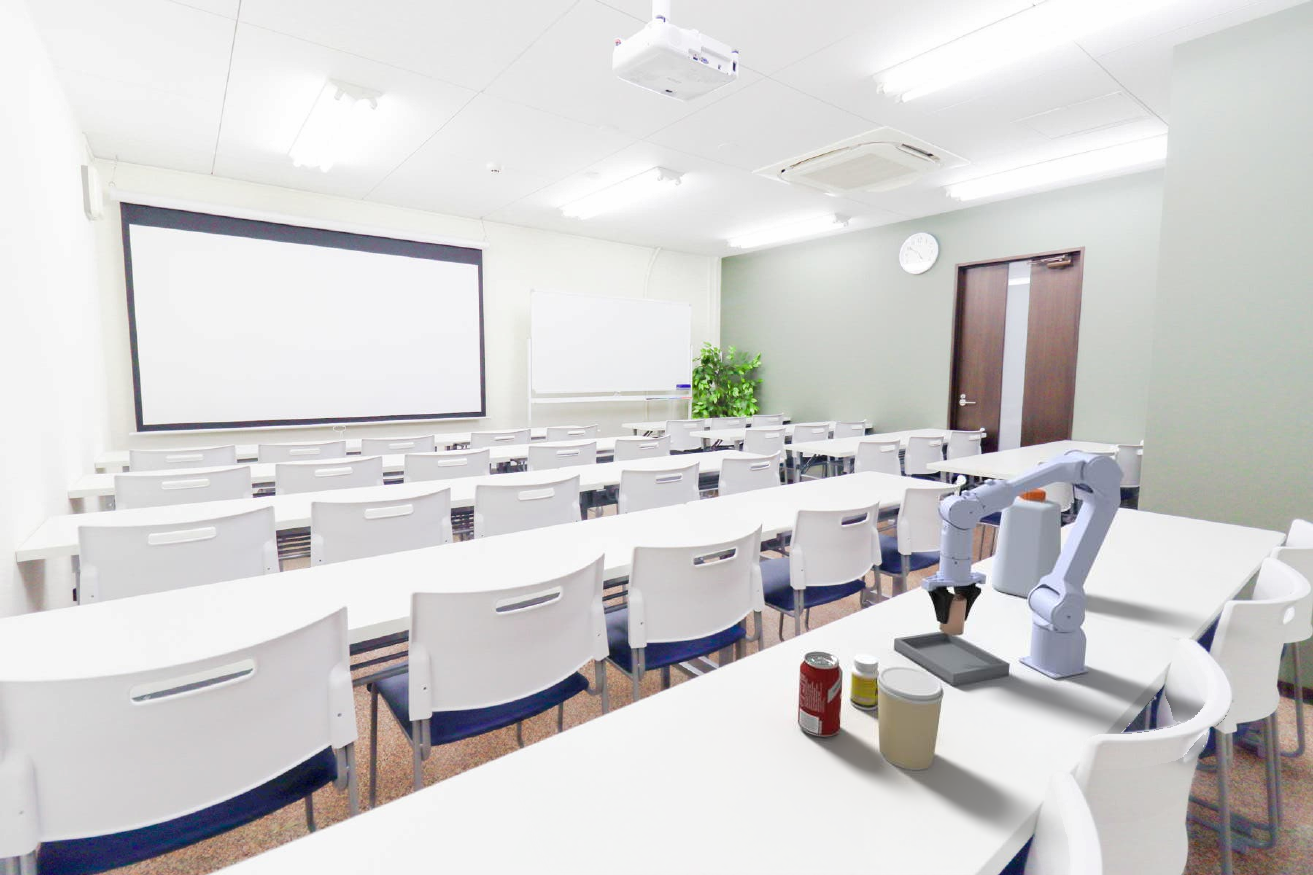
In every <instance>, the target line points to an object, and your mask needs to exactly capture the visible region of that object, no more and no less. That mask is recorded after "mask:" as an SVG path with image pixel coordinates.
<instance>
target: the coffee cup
mask: <svg viewBox="0 0 1313 875" xmlns="http://www.w3.org/2000/svg"><path fill="white" fill-rule="evenodd" d="M877 684H878V706H877V708H878V709H877V711H878V713H877V714H878V715H877V716H878V746H879V747H878V748H879V751H880V752H879V753H880V755H881V756H882V757H883V758H884V759H885V760H886V761H887V762H889V763H890V764H892V765H894V766H896V767H899V768H901V769H904V770H910V771H923V770H926V769H928V768H930V767H931V766H932V765H933V762H934V757H935V752H936V744H937V737H938V730H939V724H940V717H941V716H940V715H941V711H942V710H941V709H942V702H943V697H944V694H945V692H944V689H943V687H942V683H941V682H940V681H939V680H938V679H937V678H936V677H935V676H934V675H931V674H929V673H927V672H925V671H922V670H919V669H916V668H911V667H905V666H893V667H891V666H890V667H888V668H884V669H883V670H881V671H880V672H879V676H878V678H877Z"/></svg>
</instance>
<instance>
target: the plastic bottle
mask: <svg viewBox="0 0 1313 875" xmlns="http://www.w3.org/2000/svg"><path fill="white" fill-rule="evenodd" d="M1046 497H1047V492H1046V491H1045V490H1043V489H1040V488H1038V489H1035V490H1033V491H1030V492H1027V493H1025V494H1022V495H1019V496H1016V498H1015V500H1014V503H1013V505H1011V506H1009V507H1007V508H1004V509H1002V510H1001V517H1000V521H999V530H998V534H997V541H996V549H995V555H994V561H993V566H992V567H993V568H992V574H991V580H990V583H991V586H992V587H993V588H994V589H995V590H996V591H999V592H1001V593H1004V594H1010V595H1013V596H1017V597H1023V598H1026V599H1028V595H1029V593H1030V591H1031V590H1032V589H1033V588H1035V587H1036V586H1037V585H1038V584H1039V582H1040V580H1041V578H1042V577H1044V576H1046V575H1049V574H1051V573H1052V571H1053V569H1054V567H1055V565H1056V562H1057V560H1058V558H1059V556H1060V553H1061V551H1062V548H1061V546H1062V536H1061V534H1062V519H1061V518H1062V513H1061V512H1062V507H1061V506H1062V505H1061V504H1060V503H1059V502H1058V501H1056V500H1052V499H1046Z"/></svg>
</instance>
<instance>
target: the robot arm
mask: <svg viewBox="0 0 1313 875" xmlns="http://www.w3.org/2000/svg"><path fill="white" fill-rule="evenodd" d="M1124 475H1125V472H1123V470H1122V468H1121V467H1120V465H1119V464H1118V462H1117V461H1116V460H1115V459H1114V458H1112V457H1111V456H1108V455H1103V454H1100V455H1099V454H1096V453H1091V452H1086V451H1083V450H1081V449H1080V450H1079V449H1071V450H1067V451H1066V452H1063V454H1062V453H1061V454H1057V455H1054V456H1053V457H1052V458H1050V459H1048V460H1047V461H1045V462H1043V463H1040V464H1039V465H1037V466H1034V467H1033V468H1031V469H1029V470H1027V471H1025V472H1023V473H1020V474H1018V475H1016V476H1015V477H1012V478H1011V479H1009V480H1007V481H1004V480H1002V479H999V478H996V479H995V478H994V479H991V478H988V479H986V480H984V482H983V483H984V484H981V485H979V486H977V487H975V488H971V489H970V490H967V489H965V490H962V491H961V495H958V494H957V495H955V494H951V495H949V496H946V497H945V498H944V499H943V500H942V502H940V505H939V506H938V507H937V512H938V515H939V517H940V518H941V520H942V524H941V525H942V526H941V534H940V553H939V568H938V570H937V571H936V573H935V574H934V575H930V576H929V577H926V578H925V577H924V578H922V579H921V589H923V590H925V591H927V593H928V595H929V597H930V599H931V601H932V605H933V608H934V613H935V616H936V618H935V619H936V622H939V623H940V622H941V623H943V624H947V622H948V618H949V610H950V605H951V602H952V600H953V598H954V596H955V595H954V594H957V595H961V596H963V597H965V598H966V599H967V602H966V612H965V621H964V622H966V621H967V620H968V618H969V615H970V612H971V610H972V607H973V605H974V603H975V602H976V600H977V599H978V597H979V596H980V595H981V594H982V588H981V587H979V586H977V584H979V585H985V584H987V583H986V581H987V580H986V579H987V575H986V574H984V573H982V572H978V571H977V572H976V571H975V572H972V561H973V558H972V557H973V545H974V530H975V529H974V528H975V527H976V526H977V525H978V524H979V523H980V521H981V519H982V518H985V517H987V516H989V515H992V514H994V513H997V512H999V511H1002V509H1004V508H1007V507H1009V506H1011V505H1013V503H1014V500H1015V498H1016V496H1020V495H1022V494H1025V493H1027V492H1030V491H1033V490H1035V489H1041V488H1043V487H1046V486H1049V485H1051V484H1054V483H1058V482H1059V483H1067V484H1070V485H1072V486H1073V487H1074V488H1075V490H1076V492H1077V493H1078V495H1079V496H1080V498H1081V500H1082V504H1081V506H1080V509H1079V511H1078V514H1077V516H1076V518H1075V520H1074V523H1073V525H1072V528H1071V529H1070V531H1069V533H1068V536H1067V538H1066V540H1065V543H1064V545H1063V547H1062V548H1061V553H1060V556H1059V558H1058V560H1057V562H1056V565H1055V567H1054V569H1053V571H1052V573H1051V574H1049V575H1046V576H1044V577H1042V578H1041V580H1040V582H1039V584H1038V585H1037V586H1036V587H1035V588H1033V589H1032V590H1031V591H1030V593H1029V595H1028V598H1026V600H1027V605H1028V607H1029V609H1030V610H1031V611H1032V624H1031V626H1032V627H1031V638H1030V649H1029V656H1025V657H1023V656H1022V657H1019V658H1018V661H1019V662H1020V663H1022V664H1025V665H1026V666H1028V667H1030V668H1032V669H1034V670H1036V671H1038V672H1041V673H1043V674H1044V675H1046V676H1048V677H1049V678H1052V679H1059V678H1064V677H1069V676H1074V675H1080V674H1084V673H1088V672H1089V669H1088V668H1086V667H1085V661H1086V652H1087V651H1086V650H1087V636H1086V634H1085V632H1084V630H1083V629H1082V626H1083V624H1084V622H1085V619H1086V611H1085V609H1086V605H1087V604H1088V598H1087V595H1086V592H1085V589H1084V585H1085V582H1086V581H1087V578H1088V576H1089V574H1090V571H1091V570H1092V568H1093V565H1094V563H1095V560H1096V558H1097V556H1098V553H1099V552H1100V549H1101V547H1102V545H1103V543H1104V540H1105V539H1106V536H1107V534H1108V532H1109V530H1110V528H1111V525H1112V523H1113V521H1114V519H1115V516H1116V515H1117V513H1118V511H1119V508H1120V506H1121V481H1122V480H1123V477H1124ZM948 588H953V592H954V593H952V592H950V591H949V589H948Z"/></svg>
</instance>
